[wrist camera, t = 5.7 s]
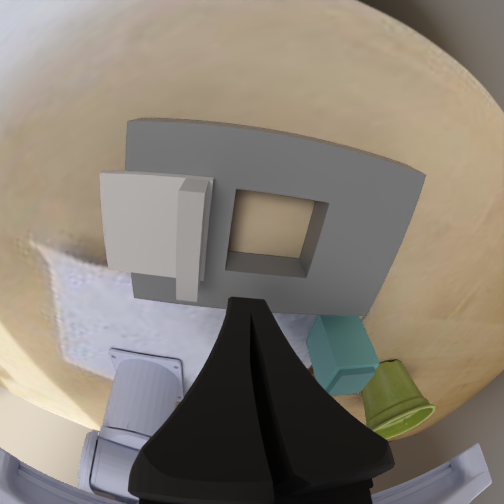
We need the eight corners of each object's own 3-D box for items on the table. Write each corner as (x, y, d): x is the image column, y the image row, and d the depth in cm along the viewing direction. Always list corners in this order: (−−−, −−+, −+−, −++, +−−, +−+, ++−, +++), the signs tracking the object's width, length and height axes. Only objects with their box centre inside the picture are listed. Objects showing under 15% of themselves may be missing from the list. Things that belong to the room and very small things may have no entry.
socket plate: (356, 297, 22) (366, 315, 20) (142, 277, 20) (134, 297, 18) (407, 164, 16) (426, 175, 14) (141, 117, 14) (127, 121, 12)
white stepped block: (204, 275, 17) (200, 302, 15) (111, 264, 16) (97, 288, 14) (213, 177, 14) (209, 193, 12) (104, 170, 13) (82, 184, 11)
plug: (342, 341, 26) (360, 394, 20) (306, 341, 25) (320, 399, 20) (357, 313, 24) (382, 369, 18) (319, 312, 23) (338, 373, 18)
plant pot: (363, 396, 34) (378, 445, 26) (335, 380, 30) (351, 440, 23) (417, 364, 31) (439, 412, 23) (400, 340, 27) (428, 400, 20)
